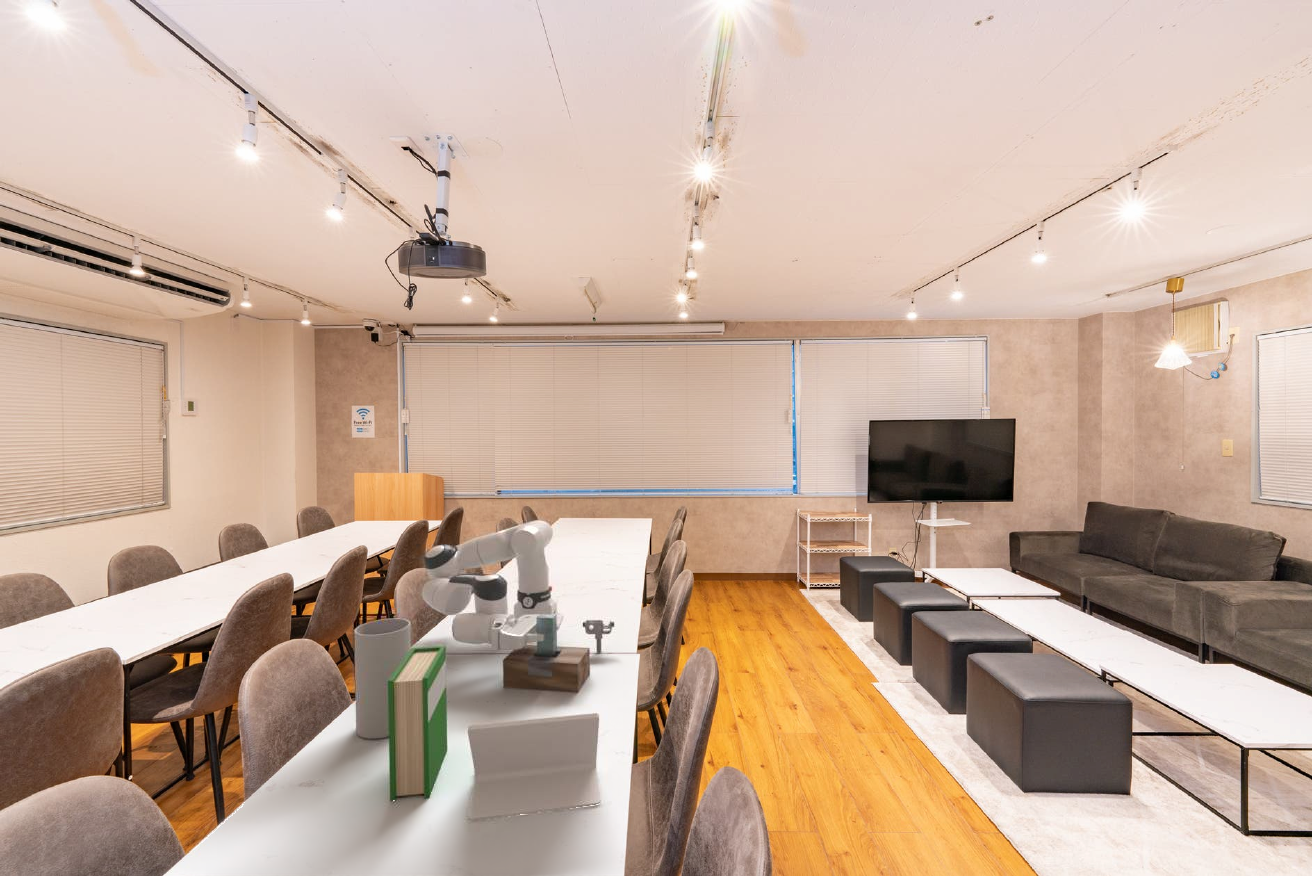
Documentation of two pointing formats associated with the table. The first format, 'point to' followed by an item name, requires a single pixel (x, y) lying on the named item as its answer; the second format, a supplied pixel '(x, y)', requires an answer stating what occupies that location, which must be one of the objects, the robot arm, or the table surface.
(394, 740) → the hardback book
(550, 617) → the tall rectangular metal block
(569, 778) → the tablet stand
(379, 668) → the cylinder vase
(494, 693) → the table surface
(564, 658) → the brown boxy piece
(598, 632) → the mechanical component
